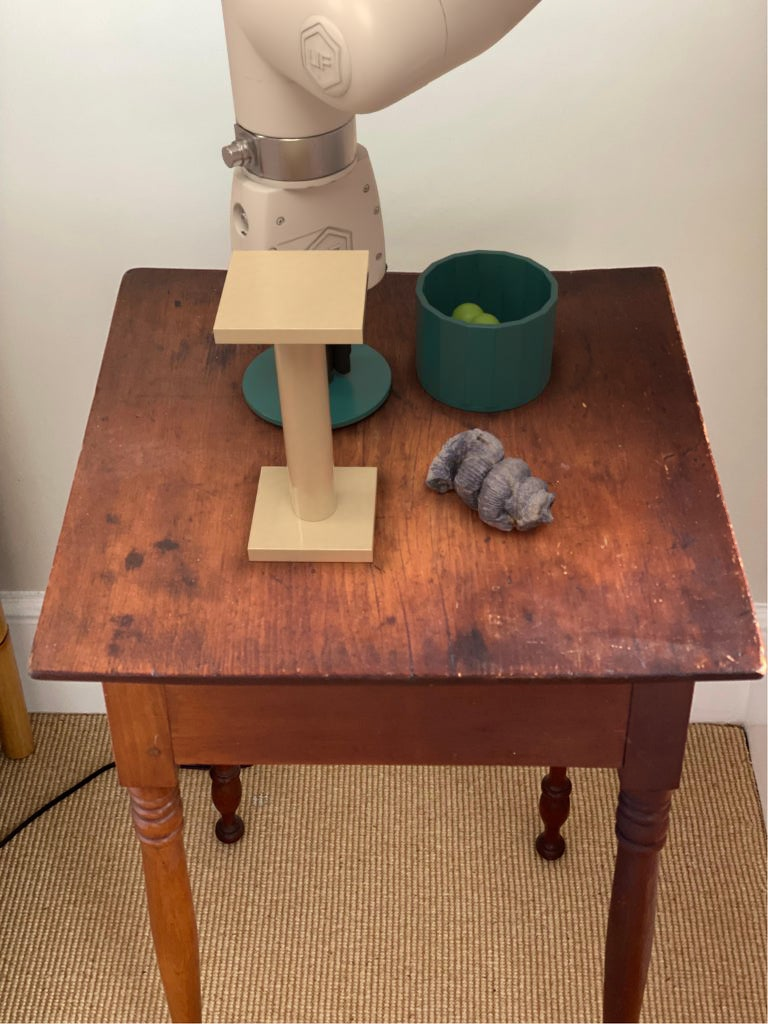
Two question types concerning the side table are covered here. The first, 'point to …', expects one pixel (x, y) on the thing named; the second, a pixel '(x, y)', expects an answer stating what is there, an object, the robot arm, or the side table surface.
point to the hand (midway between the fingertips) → (317, 372)
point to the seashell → (491, 482)
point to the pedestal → (303, 399)
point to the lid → (346, 392)
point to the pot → (485, 330)
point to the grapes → (473, 314)
